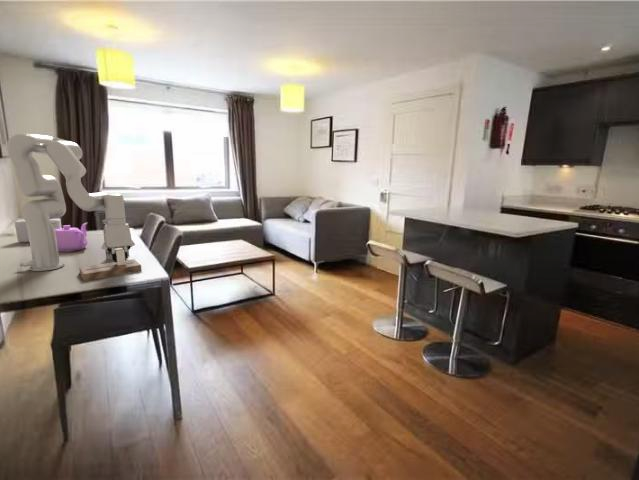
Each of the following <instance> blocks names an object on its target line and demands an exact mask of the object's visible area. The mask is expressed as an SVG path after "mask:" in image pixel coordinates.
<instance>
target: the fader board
mask: <svg viewBox="0 0 639 480" xmlns="http://www.w3.org/2000/svg"><path fill="white" fill-rule="evenodd" d="M125 262H126V265H119V266H118V265H117V264H116V263H115V261H112V262H105V263H100V264H94V265H93V264H91V265H87V266H79V267H78V268H79V275H80V276H81V277H82V279H83V281H84V282H86V281H92V280H99V279H104V278H110V277H116V276H120V275H127V274H128V275H129V274H132V273H138V272H142V265H141V263H139V262H138V261H137V260H136V259H133V258H132V259H126V261H125Z"/></svg>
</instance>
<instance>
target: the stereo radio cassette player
mask: <svg viewBox="0 0 639 480" xmlns="http://www.w3.org/2000/svg"><path fill="white" fill-rule="evenodd" d="M49 221H50V222H51V224H52V225H53V226H54V229H61V228H63V226H62V222H61V221H62V220H61V218H54V219H49ZM14 227H15V233H16V237H17V241H18V242H19V243H21V242H23V243H30V241H29V235H28V230H27V226H26V222H25V220H24V219H19V220H17V221H14Z"/></svg>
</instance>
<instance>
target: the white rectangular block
mask: <svg viewBox="0 0 639 480" xmlns="http://www.w3.org/2000/svg"><path fill="white" fill-rule="evenodd" d="M115 253H116V257H117V262H115V261H114V262H115V263H116V264H117V265H118V266H119V265H126V262H125V253H124V249H123V248H116V249H115Z"/></svg>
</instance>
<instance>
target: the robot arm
mask: <svg viewBox="0 0 639 480" xmlns="http://www.w3.org/2000/svg"><path fill="white" fill-rule="evenodd" d="M6 150H7V154H8V157H9V159H10V161H11V163H12V165H13V169H14V173H15V177H16V181H17V184H18V187H19V191H20V192H21V194H23V195H24V196H26V197H30V198H33V197H34V198H36V197H42V198H41V199H33V200H29V201H27V202H24V204H22V206H21V208H20V209H21V210H20V211H21V212H20V213H21V216H22V217H23V220H25V222H26V226H27V230H28V235H29V241H30V242H29V245H30V253H31V259H30V260H28V261H20V262H19V266H20V268H21V267H26V268H27V267H29V270H30V271H31V272H45V271H46V272H47V271H53V270H58V269H60V268H63V267H64V266H65V263H64V262H63V261H61V260H60V255H59V254H60V253H59V251H58V247H57V240H56V234H55V229H54V226H53V225H52V224H51V222H50V221H49V219H60V218H61V217H63V216H64V215H65V214H66V212H67V205H66V201H65V197H64V193H63V190H62V186H61V183H60V182H59V180H58V179H57V178H56V177H54V176H52V175H50V174H42V172H41V168H40V165H39V162H38V161H37V160H36V159H35V158H34V157H33V156H32V155H47V156H48V157H49V159H50V160H51V161H52V162H53V163H54V165H55V167H56V168H57V169H58V171H60V172H61V174H62V175H63V176H64V178H65V186H66V187H65V188H66V192H67V194H68V196H69V198H70V199H71V200H72V201H73V202H74V203H75V205H76V206H77V207H78V208H79V209H80V210H82V211H85V212H93V211H99V210H104V214H105V219H102V220H101V222H102V224H105V225H104V228H103V229H104V232H103V243H102V245H101V249H102V250H104V251H105V250H107V251H109V252H111V253H112V260H111V261H113V262H117V257H116V253H115V247H122V246H123V249H124V253H125V261H126V260H127V259H128V257H129V256H127V252H128V250H129V251H130V249H131V248H133V247H134V246H135V245H136V244H135V242H134V240H133V239H132V234H131V229H130V226H129V223H127V220H126V211H125V210H126V209H125V199H124V196H123V194H121V193H107V192H92V193H90V192H88V191H87V190H86V189H85V187H84V185H83V184H82V177H84V176H85V175H86V173H87V168H86V167H85V166H84V164H83V163H82V162H81V161H80V160H81V159H82V158H83V150H82V148H81V147H80V145H79V144H78V143H76V142H73V141H71V140H65V139H63V138H59V137H54V136H50V135H45V134H36V133H26V132H23V133H16V134H14V135H11V137H10V138H9V139H8V140H7V143H6ZM104 240H105V241H104ZM106 246H107V247H106ZM108 247H109V248H108Z"/></svg>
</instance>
